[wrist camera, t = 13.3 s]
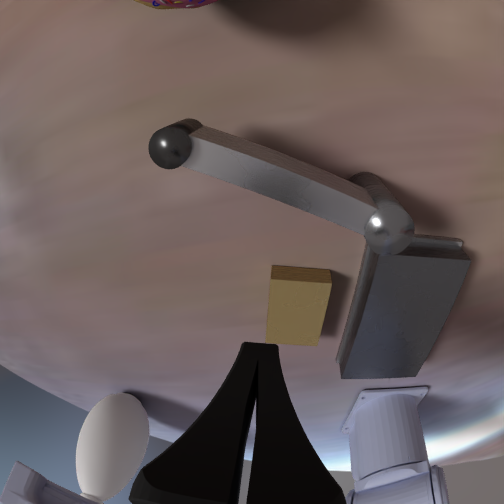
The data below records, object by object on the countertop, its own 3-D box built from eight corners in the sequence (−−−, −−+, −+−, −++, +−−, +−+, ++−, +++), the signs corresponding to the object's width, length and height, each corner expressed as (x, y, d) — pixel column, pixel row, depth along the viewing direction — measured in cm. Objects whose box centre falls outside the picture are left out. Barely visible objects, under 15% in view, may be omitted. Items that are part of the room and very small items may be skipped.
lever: (183, 141, 18) (143, 168, 13) (194, 104, 16) (155, 115, 11) (371, 214, 19) (398, 264, 14) (389, 182, 17) (424, 223, 13)
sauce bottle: (167, 399, 32) (125, 538, 17) (151, 420, 36) (115, 534, 21) (106, 369, 31) (46, 503, 16) (99, 395, 35) (52, 506, 19)
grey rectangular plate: (410, 358, 25) (416, 378, 23) (335, 358, 26) (337, 380, 24) (459, 238, 19) (475, 257, 17) (368, 229, 19) (377, 249, 17)
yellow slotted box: (265, 342, 23) (266, 327, 25) (317, 346, 23) (316, 330, 24) (270, 279, 20) (271, 264, 22) (332, 283, 20) (329, 268, 21)
